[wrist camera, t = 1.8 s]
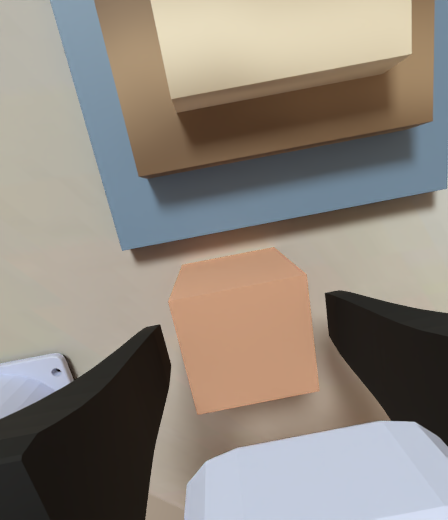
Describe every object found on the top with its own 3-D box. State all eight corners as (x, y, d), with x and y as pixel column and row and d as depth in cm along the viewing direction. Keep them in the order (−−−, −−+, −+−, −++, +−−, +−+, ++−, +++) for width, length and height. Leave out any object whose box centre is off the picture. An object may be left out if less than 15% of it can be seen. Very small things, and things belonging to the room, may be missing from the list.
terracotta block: (285, 329, 15) (319, 390, 11) (201, 345, 15) (197, 414, 11) (273, 246, 14) (306, 274, 9) (182, 264, 14) (168, 301, 9)
